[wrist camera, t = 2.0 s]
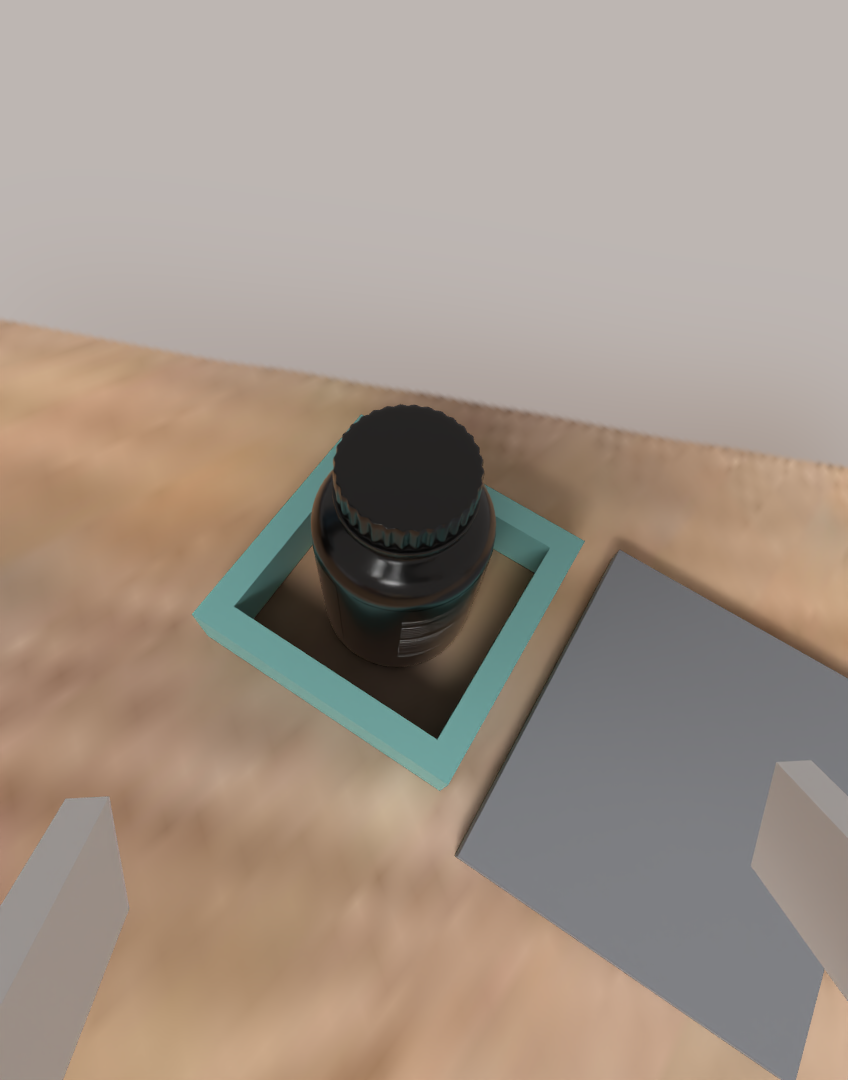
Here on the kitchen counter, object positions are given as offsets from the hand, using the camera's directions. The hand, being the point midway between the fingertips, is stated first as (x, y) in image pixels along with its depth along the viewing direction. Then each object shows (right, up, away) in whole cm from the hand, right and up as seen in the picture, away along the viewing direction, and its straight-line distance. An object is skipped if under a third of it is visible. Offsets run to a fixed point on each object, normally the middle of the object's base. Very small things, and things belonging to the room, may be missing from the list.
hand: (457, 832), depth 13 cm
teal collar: (-2, +3, +18) cm, 18 cm away
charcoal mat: (+11, -5, +15) cm, 19 cm away
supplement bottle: (-2, +3, +18) cm, 18 cm away
